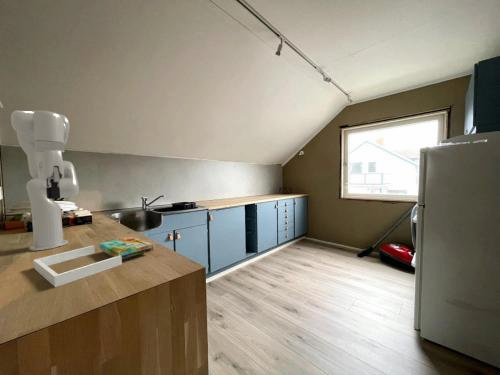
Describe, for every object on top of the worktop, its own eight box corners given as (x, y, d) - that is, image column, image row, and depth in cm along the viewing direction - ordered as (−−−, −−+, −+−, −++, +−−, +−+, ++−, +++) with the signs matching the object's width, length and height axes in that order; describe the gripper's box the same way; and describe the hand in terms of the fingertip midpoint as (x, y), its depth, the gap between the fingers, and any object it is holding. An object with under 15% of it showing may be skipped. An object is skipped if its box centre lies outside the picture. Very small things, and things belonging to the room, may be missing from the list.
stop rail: (130, 245, 91) (130, 240, 91) (133, 244, 92) (133, 240, 92) (150, 251, 83) (150, 246, 82) (153, 250, 84) (152, 245, 83)
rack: (34, 268, 69) (33, 259, 69) (93, 252, 83) (93, 245, 83) (55, 287, 56) (54, 276, 56) (121, 264, 70) (121, 255, 70)
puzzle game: (130, 234, 91) (151, 241, 79) (130, 245, 92) (152, 253, 79) (98, 241, 82) (118, 250, 70) (99, 252, 82) (118, 264, 70)
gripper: (29, 147, 74) (33, 198, 75) (41, 144, 66) (45, 201, 67) (57, 149, 80) (60, 196, 82) (71, 147, 72) (74, 198, 74)
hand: (53, 198), depth 74 cm, fingers closed
